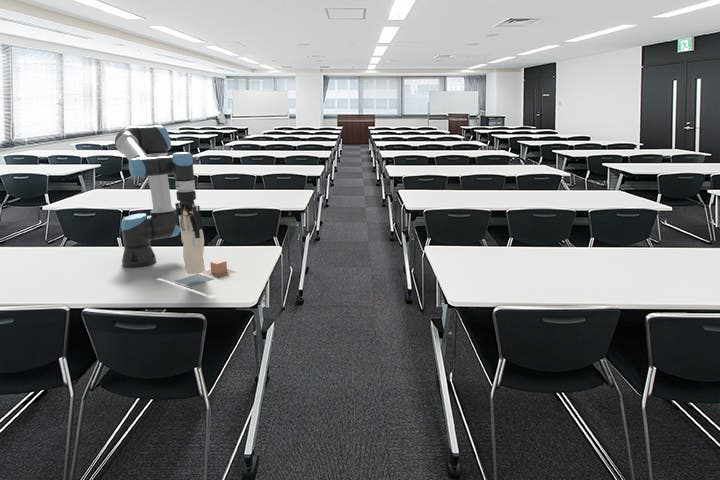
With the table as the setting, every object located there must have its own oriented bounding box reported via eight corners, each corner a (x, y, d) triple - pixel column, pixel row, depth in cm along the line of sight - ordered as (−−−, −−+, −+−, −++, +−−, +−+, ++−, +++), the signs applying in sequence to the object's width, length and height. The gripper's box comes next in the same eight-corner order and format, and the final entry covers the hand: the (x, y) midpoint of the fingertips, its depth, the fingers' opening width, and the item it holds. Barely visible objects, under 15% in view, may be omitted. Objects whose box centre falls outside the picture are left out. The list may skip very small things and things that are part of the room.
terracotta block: (211, 272, 234) (210, 261, 233) (220, 269, 238) (219, 259, 237) (218, 274, 231) (217, 263, 230) (227, 271, 235) (226, 261, 234)
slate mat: (174, 283, 224) (174, 281, 224) (198, 275, 233) (198, 273, 233) (191, 289, 217) (191, 286, 217) (214, 281, 226) (214, 278, 226)
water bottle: (198, 276, 217) (192, 210, 210) (179, 274, 219) (172, 209, 212) (210, 268, 227) (204, 205, 220) (191, 267, 229) (185, 204, 221)
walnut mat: (201, 274, 235) (201, 272, 234) (220, 268, 242) (219, 266, 242) (218, 279, 227) (218, 277, 227) (236, 273, 235) (236, 271, 235)
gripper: (163, 189, 218) (169, 242, 224) (193, 194, 205) (198, 249, 211) (179, 187, 223) (184, 238, 229) (208, 191, 211) (213, 245, 217)
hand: (191, 243), depth 220 cm, fingers closed on water bottle, 8 cm apart
